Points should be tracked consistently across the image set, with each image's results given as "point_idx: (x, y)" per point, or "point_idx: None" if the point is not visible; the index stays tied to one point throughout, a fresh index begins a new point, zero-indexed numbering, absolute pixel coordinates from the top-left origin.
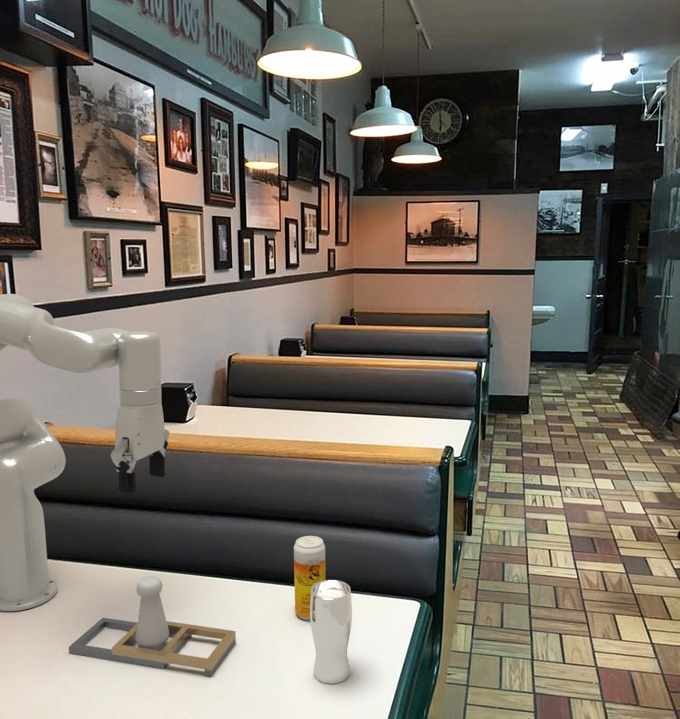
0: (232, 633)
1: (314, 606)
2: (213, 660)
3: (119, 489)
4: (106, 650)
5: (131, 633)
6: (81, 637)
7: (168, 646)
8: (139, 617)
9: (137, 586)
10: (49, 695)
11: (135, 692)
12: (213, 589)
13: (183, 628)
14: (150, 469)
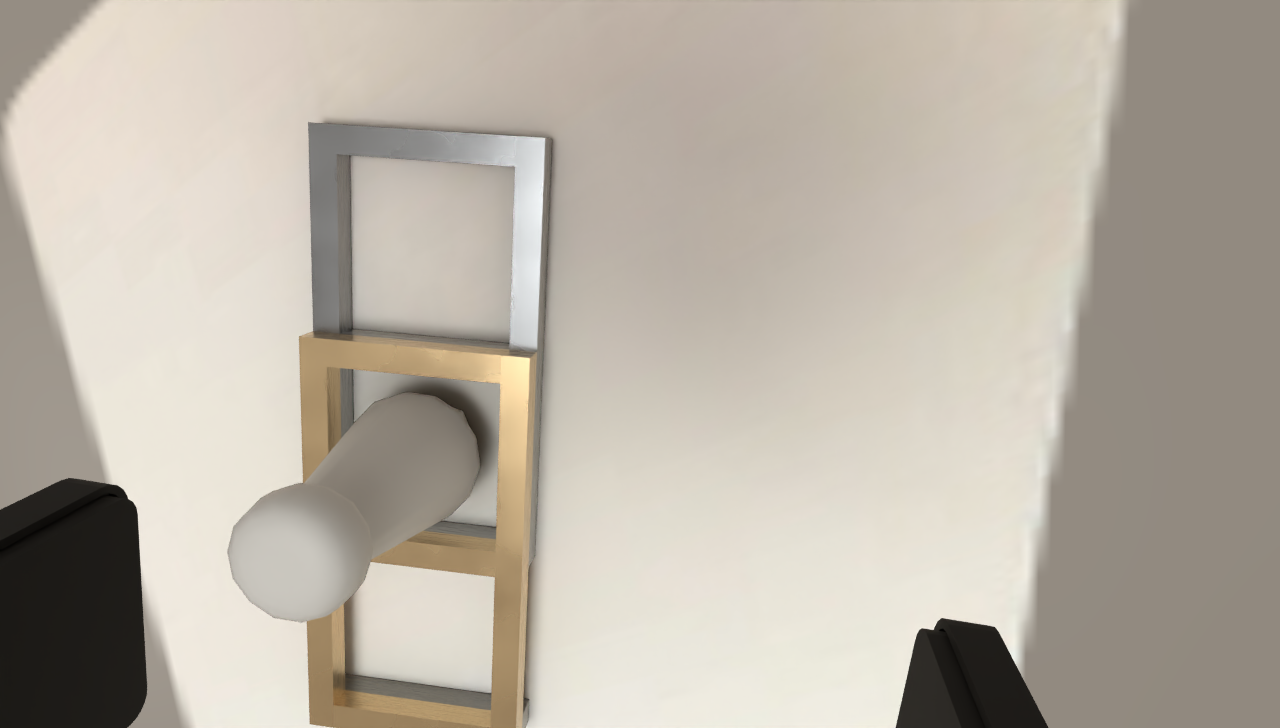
0: None
1: None
2: (330, 726)
3: (65, 482)
4: (327, 296)
5: (407, 366)
6: (381, 135)
7: None
8: (328, 457)
9: (248, 511)
10: (103, 210)
11: (202, 489)
12: (927, 518)
13: (489, 559)
14: (942, 708)
